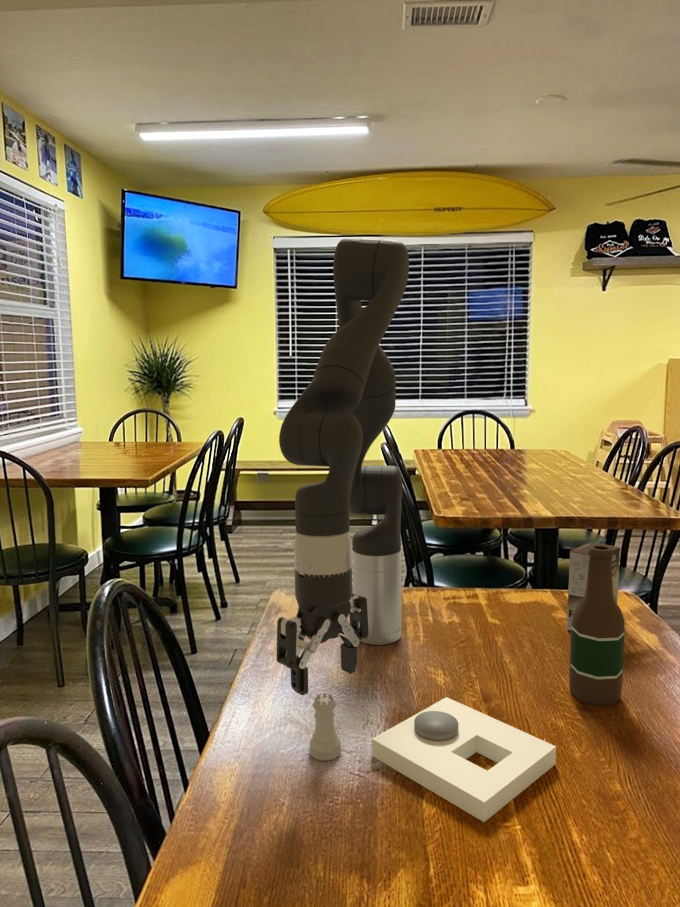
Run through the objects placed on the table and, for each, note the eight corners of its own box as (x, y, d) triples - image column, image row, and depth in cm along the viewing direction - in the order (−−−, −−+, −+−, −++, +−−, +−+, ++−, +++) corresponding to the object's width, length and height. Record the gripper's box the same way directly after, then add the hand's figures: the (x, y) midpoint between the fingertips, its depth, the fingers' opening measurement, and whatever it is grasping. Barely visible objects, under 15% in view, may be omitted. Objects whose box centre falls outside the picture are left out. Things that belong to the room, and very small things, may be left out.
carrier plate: (372, 756, 90) (372, 731, 89) (446, 712, 100) (446, 690, 100) (484, 822, 76) (484, 794, 76) (555, 764, 87) (556, 739, 87)
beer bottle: (597, 712, 100) (603, 557, 97) (558, 690, 107) (563, 545, 103) (632, 699, 103) (640, 550, 100) (592, 679, 110) (598, 538, 107)
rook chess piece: (338, 764, 88) (337, 707, 87) (305, 760, 89) (304, 704, 88) (344, 745, 92) (343, 691, 91) (313, 742, 93) (312, 688, 92)
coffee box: (597, 639, 126) (601, 556, 124) (565, 629, 130) (568, 550, 128) (617, 624, 132) (621, 546, 130) (586, 616, 137) (589, 540, 135)
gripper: (343, 548, 94) (344, 657, 96) (261, 569, 85) (265, 690, 87) (381, 558, 89) (382, 673, 91) (299, 582, 79) (302, 711, 81)
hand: (325, 681), depth 89 cm, fingers open, 8 cm apart
